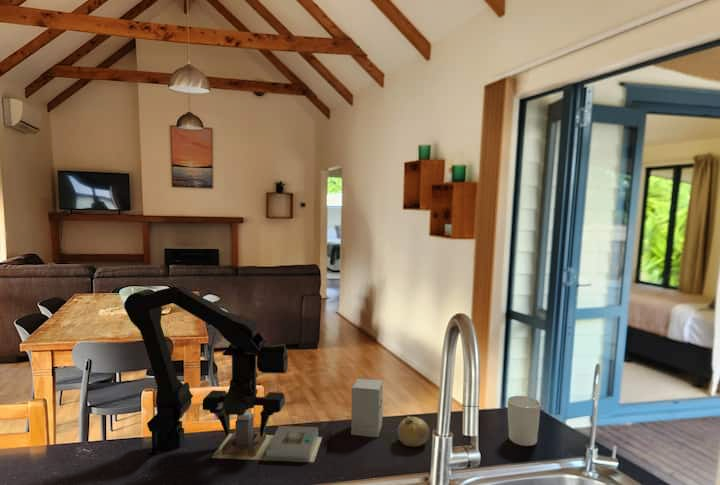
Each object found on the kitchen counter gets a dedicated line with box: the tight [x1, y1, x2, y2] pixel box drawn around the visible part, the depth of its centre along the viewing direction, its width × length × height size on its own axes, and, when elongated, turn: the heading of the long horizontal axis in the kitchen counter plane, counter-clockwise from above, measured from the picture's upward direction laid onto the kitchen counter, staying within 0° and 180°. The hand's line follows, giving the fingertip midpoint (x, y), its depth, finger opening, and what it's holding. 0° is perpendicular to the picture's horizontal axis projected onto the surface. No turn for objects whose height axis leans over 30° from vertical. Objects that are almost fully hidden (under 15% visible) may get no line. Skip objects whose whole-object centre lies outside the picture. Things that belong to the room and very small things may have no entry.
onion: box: [397, 415, 430, 448], centre depth 118 cm, size 8×8×7 cm
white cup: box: [507, 395, 541, 447], centre depth 119 cm, size 8×8×10 cm
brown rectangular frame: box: [222, 430, 267, 456], centre depth 114 cm, size 8×9×2 cm
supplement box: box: [350, 378, 384, 438], centre depth 124 cm, size 7×7×13 cm
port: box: [265, 425, 319, 463], centre depth 113 cm, size 10×12×3 cm
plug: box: [234, 411, 255, 446], centre depth 114 cm, size 3×4×8 cm, turn 176°
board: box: [210, 433, 323, 463], centre depth 113 cm, size 24×12×1 cm, turn 86°
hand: (244, 435), depth 114 cm, fingers open, 8 cm apart
